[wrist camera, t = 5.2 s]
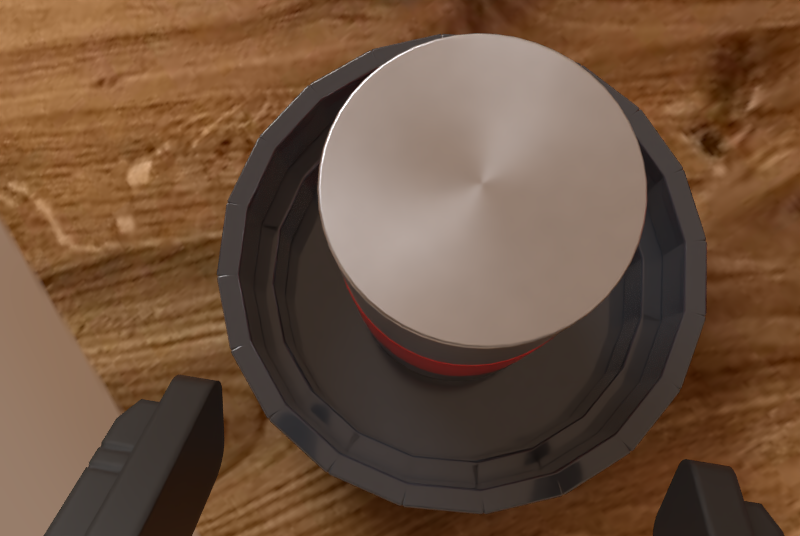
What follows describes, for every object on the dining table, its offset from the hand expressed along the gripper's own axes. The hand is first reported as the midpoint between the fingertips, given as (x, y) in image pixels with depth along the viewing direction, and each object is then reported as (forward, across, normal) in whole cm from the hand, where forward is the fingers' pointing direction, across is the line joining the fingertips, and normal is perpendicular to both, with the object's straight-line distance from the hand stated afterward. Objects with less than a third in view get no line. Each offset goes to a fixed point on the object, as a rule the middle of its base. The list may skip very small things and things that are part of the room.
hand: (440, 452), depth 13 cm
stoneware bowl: (+10, 0, +4) cm, 11 cm away
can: (+10, 0, +3) cm, 11 cm away
